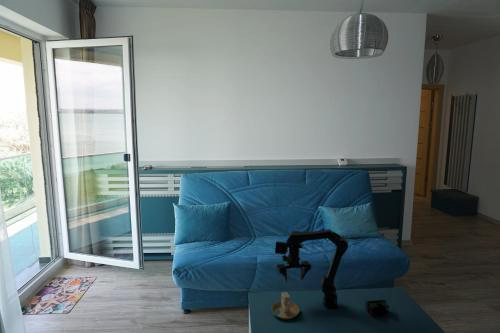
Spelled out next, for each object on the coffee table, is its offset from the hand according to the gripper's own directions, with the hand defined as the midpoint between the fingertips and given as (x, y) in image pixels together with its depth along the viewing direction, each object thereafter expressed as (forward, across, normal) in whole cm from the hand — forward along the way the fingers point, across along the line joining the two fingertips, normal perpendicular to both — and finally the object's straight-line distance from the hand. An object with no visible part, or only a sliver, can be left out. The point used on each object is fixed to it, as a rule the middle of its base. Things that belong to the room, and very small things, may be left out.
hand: (293, 281), depth 184 cm
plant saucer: (+13, +8, +9) cm, 18 cm away
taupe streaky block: (+10, +8, +9) cm, 16 cm away
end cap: (+12, -38, +22) cm, 46 cm away
